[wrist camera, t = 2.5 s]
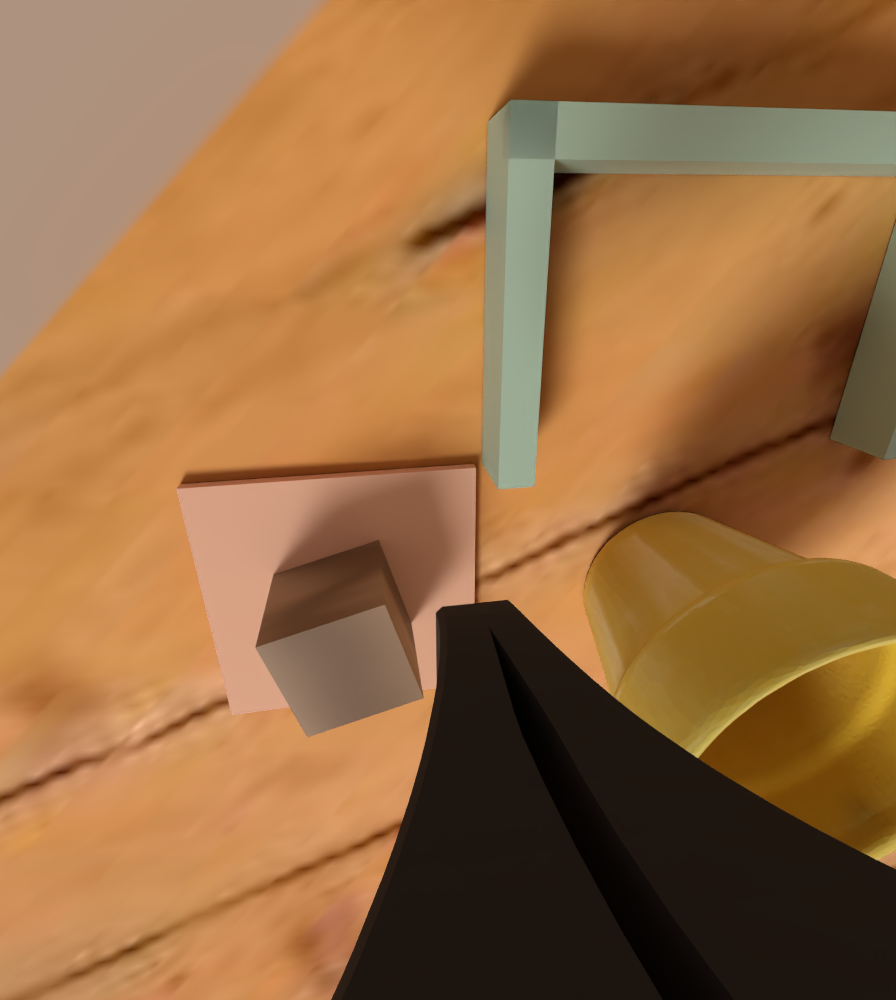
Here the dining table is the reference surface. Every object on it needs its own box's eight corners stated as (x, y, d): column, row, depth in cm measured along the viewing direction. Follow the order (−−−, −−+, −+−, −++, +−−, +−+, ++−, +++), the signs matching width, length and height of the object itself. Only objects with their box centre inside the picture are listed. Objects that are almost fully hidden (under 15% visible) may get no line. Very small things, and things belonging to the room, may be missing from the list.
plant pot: (621, 709, 26) (759, 942, 17) (489, 588, 22) (583, 816, 13) (802, 575, 24) (1061, 758, 15) (698, 415, 20) (973, 541, 11)
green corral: (954, 133, 17) (1041, 116, 15) (856, 437, 21) (912, 457, 19) (487, 122, 15) (510, 99, 13) (482, 463, 19) (498, 489, 17)
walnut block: (378, 539, 19) (384, 604, 16) (411, 622, 21) (423, 698, 17) (273, 574, 19) (255, 647, 16) (315, 655, 21) (307, 737, 17)
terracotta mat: (473, 463, 19) (476, 467, 19) (471, 676, 23) (473, 683, 23) (179, 484, 18) (175, 488, 17) (233, 707, 22) (231, 714, 22)
